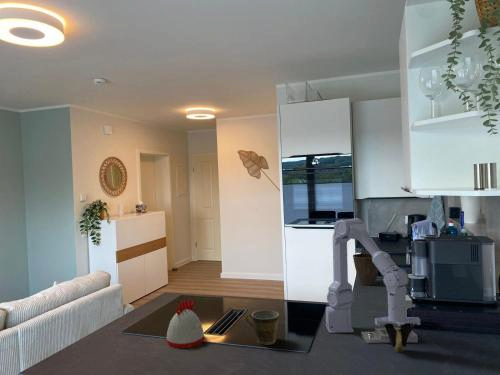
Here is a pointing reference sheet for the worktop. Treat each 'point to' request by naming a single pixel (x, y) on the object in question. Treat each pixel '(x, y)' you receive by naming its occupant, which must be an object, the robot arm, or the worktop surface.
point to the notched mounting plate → (384, 336)
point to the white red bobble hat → (185, 327)
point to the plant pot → (365, 269)
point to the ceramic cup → (265, 325)
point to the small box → (408, 304)
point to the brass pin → (398, 340)
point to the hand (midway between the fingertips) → (398, 345)
